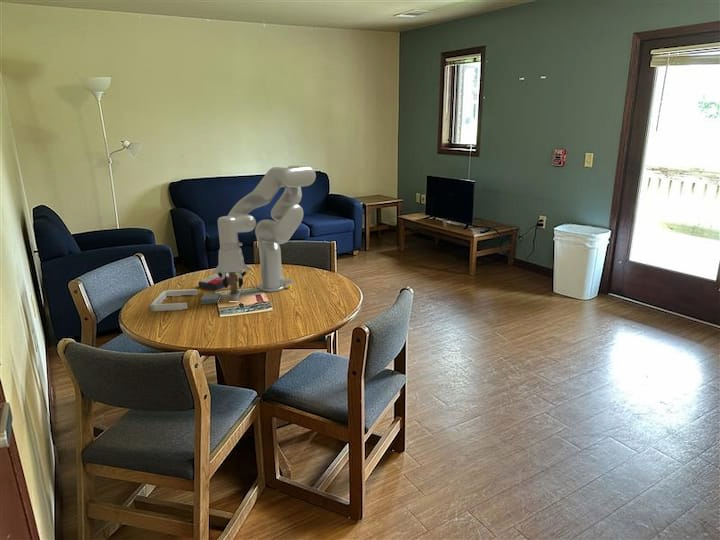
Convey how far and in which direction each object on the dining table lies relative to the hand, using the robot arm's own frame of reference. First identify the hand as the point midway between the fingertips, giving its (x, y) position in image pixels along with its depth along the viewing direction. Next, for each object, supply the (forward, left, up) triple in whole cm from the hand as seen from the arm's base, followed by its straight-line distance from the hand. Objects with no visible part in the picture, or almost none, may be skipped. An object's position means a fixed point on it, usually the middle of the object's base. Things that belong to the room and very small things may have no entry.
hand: (233, 286), depth 213 cm
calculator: (+11, -23, -7) cm, 26 cm away
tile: (+10, 0, -6) cm, 12 cm away
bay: (+25, 0, -6) cm, 26 cm away
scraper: (0, 0, -6) cm, 6 cm away
